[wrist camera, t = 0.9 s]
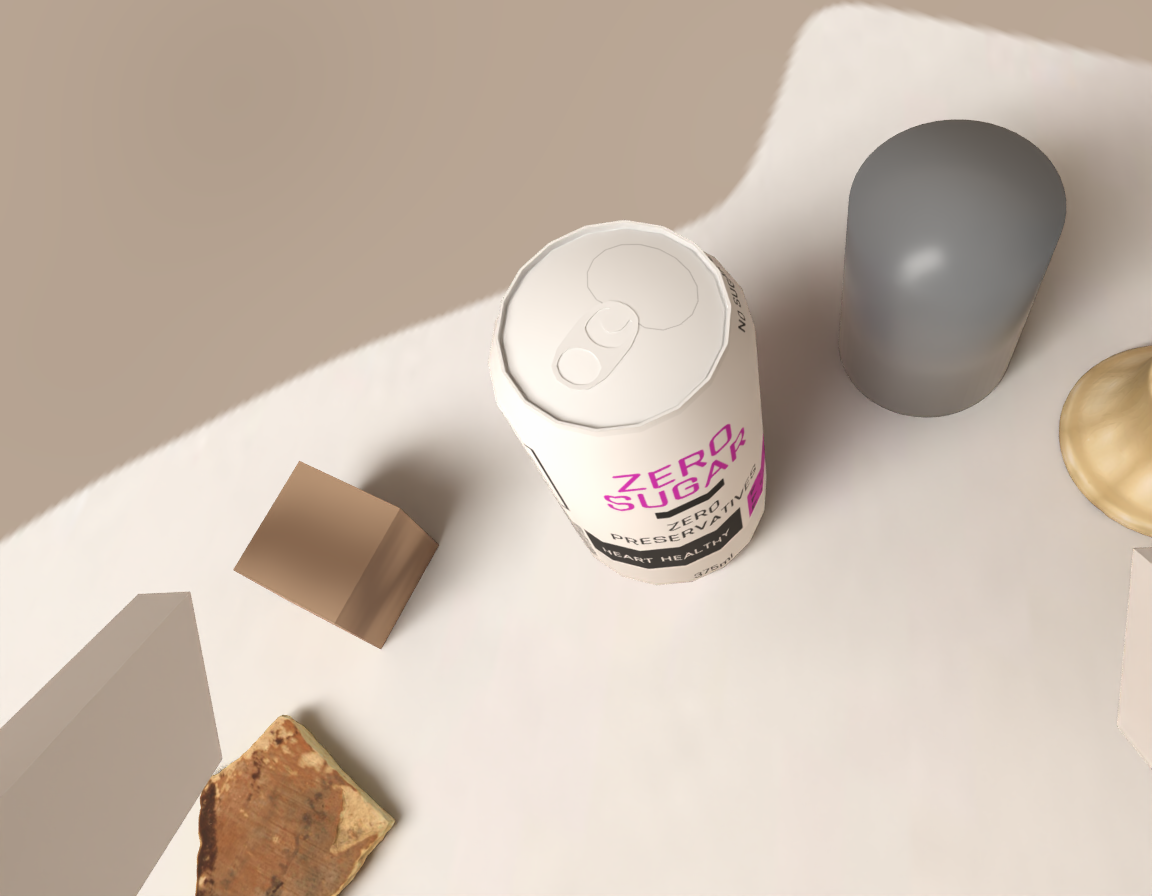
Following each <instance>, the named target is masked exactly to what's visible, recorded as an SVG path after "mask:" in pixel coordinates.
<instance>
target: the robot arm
mask: <svg viewBox="0 0 1152 896" xmlns="http://www.w3.org/2000/svg"><path fill="white" fill-rule="evenodd" d="M1117 727H1118V729H1119V730H1120V731H1121V732H1122V733H1123V735H1124V736H1125V737H1126V738H1127V740H1128V741H1129V742H1130V743H1131V745H1132V746H1133V747H1134V748H1135V750H1136V751H1137V752H1138V753H1139V754H1140V756H1141V757H1142V758H1143V759H1144V761H1145V762H1146V763H1147V764H1148V766H1149V767H1150V768H1151V769H1152V547H1148V548H1133V555H1132V566H1131V577H1130V588H1129V599H1128V610H1127V621H1126V632H1125V643H1124V654H1123V664H1122V675H1121V686H1120V697H1119V708H1118V719H1117ZM221 760H222V754H221V749H220V744H219V739H218V733H217V728H216V723H215V718H214V713H213V707H212V702H211V697H210V692H209V687H208V681H207V676H206V671H205V666H204V661H203V655H202V650H201V645H200V640H199V635H198V629H197V624H196V619H195V614H194V609H193V603H192V598H191V593H190V592H174V593H152V594H138V595H137V596H136V597H135V598H134V599H133V600H132V601H131V602H130V603H129V604H128V605H127V606H126V607H125V608H124V609H123V610H122V611H121V612H120V613H119V614H118V615H116V616H115V617H114V618H113V619H112V620H111V621H110V622H109V623H108V624H107V625H106V626H105V627H104V628H103V629H102V630H101V631H100V632H99V633H98V634H97V635H96V636H95V637H94V638H93V639H92V640H91V641H90V642H89V643H88V644H87V645H86V646H85V647H84V648H83V649H82V650H81V651H80V652H79V653H78V654H77V655H76V656H75V657H74V658H72V659H71V660H70V661H69V662H68V663H67V664H66V665H65V666H64V667H63V668H62V669H61V670H60V671H59V672H58V673H57V674H56V675H55V676H54V677H53V678H52V679H51V680H50V681H49V682H48V683H47V684H46V685H45V686H44V687H43V688H42V689H41V690H40V691H39V692H38V693H37V694H36V695H35V696H34V697H33V698H32V699H31V700H29V701H28V702H27V703H26V704H25V705H24V706H23V707H22V708H21V709H20V710H19V711H18V712H17V713H16V714H15V715H14V716H13V717H12V718H11V719H10V720H9V721H8V722H7V723H6V724H5V725H4V726H3V727H2V728H1V729H0V896H136V895H137V894H138V892H139V891H140V889H141V887H142V886H143V884H144V883H145V881H146V879H147V878H148V876H149V875H150V873H151V871H152V870H153V868H154V867H155V865H156V864H157V862H158V860H159V859H160V857H161V856H162V854H163V852H164V851H165V849H166V848H167V846H168V844H169V843H170V841H171V840H172V838H173V836H174V835H175V833H176V832H177V830H178V829H179V827H180V825H181V824H182V822H183V821H184V819H185V817H186V816H187V814H188V813H189V811H190V809H191V808H192V806H193V805H194V803H195V802H196V800H197V798H198V797H199V795H200V794H201V792H202V790H203V789H204V787H205V786H206V784H207V782H208V781H209V779H210V778H211V776H212V774H213V773H214V771H215V770H216V768H217V767H218V765H219V763H220V762H221Z"/></svg>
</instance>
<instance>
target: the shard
mask: <svg viewBox="0 0 1152 896" xmlns="http://www.w3.org/2000/svg"><path fill="white" fill-rule="evenodd" d="M200 805H201V809H200V814H199V832H198V834H199V839H200V848H199V852H198V855H197V883H196V894H195V896H337V895H338V894H339V893H340V892H341V891H342V890H343V889H344V888H345V887H346V886H347V885H348V884H349V883H350V882H351V881H352V880H353V878H354V877H355V875H356V874H357V872H358V871H359V869H360V868H361V867H362V865H363V864H364V862H365V859H366V857H367V856H368V855H369V854H370V853H371V852H372V851H373V849H374V848H375V847H376V846H377V845H378V844H379V843H380V842H381V841H382V840H383V838H384V836H385V834H386V833H387V832H388V831H389V830H390V829H391V828H392V826H393V824H394V823H395V819H394V818H393V817H392V816H391V815H390V814H389V813H388V812H386V811H385V810H384V809H382V808H381V807H380V806H379V805H378V804H377V803H376V802H375V801H374V800H373V799H372V798H371V797H370V796H369V795H368V794H367V793H366V792H365V791H363V790H362V789H361V788H360V787H359V786H358V785H357V784H356V783H354V781H353V780H352V779H351V778H350V777H349V776H348V775H347V774H346V773H345V772H344V771H342V770H341V768H340V767H339V765H338V764H337V763H336V762H335V761H334V759H333V758H332V757H331V755H330V754H329V753H328V751H327V750H326V749H325V748H323V747H322V745H321V744H320V743H318V742H317V741H316V739H315V738H314V736H313V735H312V733H311V732H310V731H309V730H307V729H306V728H305V727H304V726H303V725H301V724H299V723H297V722H296V721H295V720H293V719H292V718H291V717H290V716H288V715H282V716H279V717H278V718H277V719H276V720H275V721H274V722H273V723H272V724H271V725H270V726H269V727H268V728H267V730H266V731H265V732H264V734H263V735H262V736H261V737H259V738H258V740H257V741H256V742H255V743H254V744H253V745H252V746H251V747H250V749H249V750H248V751H246V752H245V753H244V754H243V755H242V756H241V757H240V758H239V759H237V760H236V761H234V762H233V763H231V764H230V765H229V766H227V767H226V768H225V769H223V770H222V771H221V772H220V773H218V774H216V775H213V776H211V778H210V779H209V781H208V782H207V784H206V786H205V787H204V789H203V790H202V793H201V797H200Z"/></svg>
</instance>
